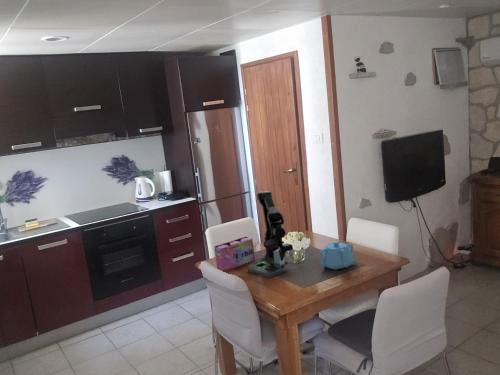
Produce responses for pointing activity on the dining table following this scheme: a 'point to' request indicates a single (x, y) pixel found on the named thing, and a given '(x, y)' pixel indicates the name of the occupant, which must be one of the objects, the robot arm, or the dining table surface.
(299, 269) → the dining table surface
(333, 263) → the decorative pot
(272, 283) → the dining table surface
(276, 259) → the plug
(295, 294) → the dining table surface
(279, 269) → the panel
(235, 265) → the gum box
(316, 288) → the dining table surface
